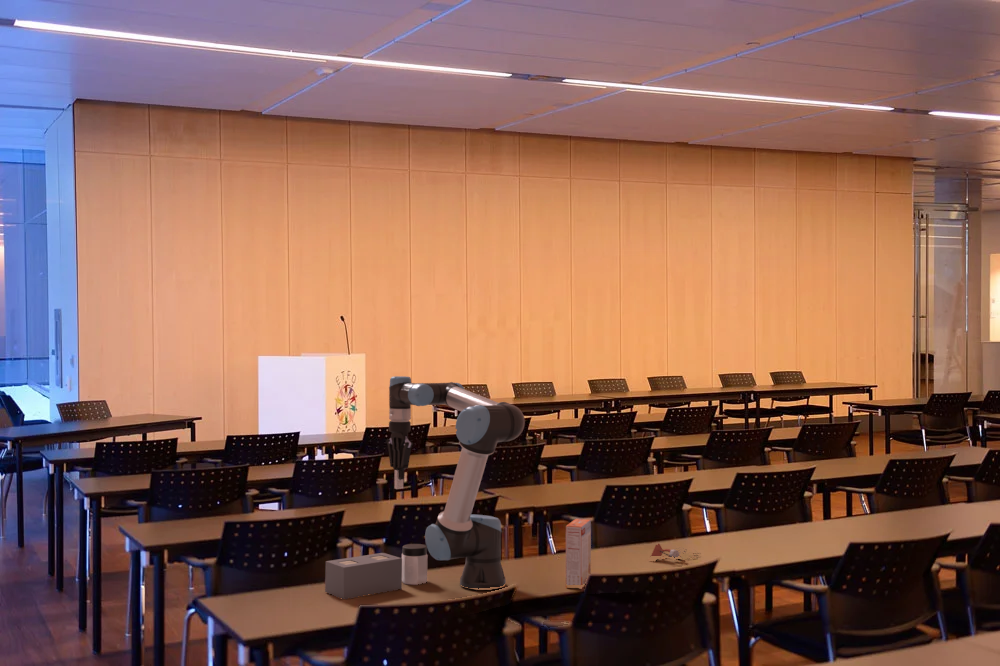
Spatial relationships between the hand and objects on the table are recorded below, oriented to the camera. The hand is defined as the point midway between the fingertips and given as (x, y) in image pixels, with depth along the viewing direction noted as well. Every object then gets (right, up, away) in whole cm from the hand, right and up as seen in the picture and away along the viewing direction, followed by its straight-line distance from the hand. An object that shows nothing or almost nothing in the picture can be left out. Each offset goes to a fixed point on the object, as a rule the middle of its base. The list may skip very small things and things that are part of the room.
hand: (398, 488), depth 353 cm
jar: (+6, -30, -13) cm, 33 cm away
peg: (-4, -27, -22) cm, 35 cm away
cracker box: (+61, -30, -13) cm, 70 cm away
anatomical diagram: (+104, -32, +29) cm, 113 cm away
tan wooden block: (-13, -27, -30) cm, 42 cm away
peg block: (-9, -29, -26) cm, 40 cm away
